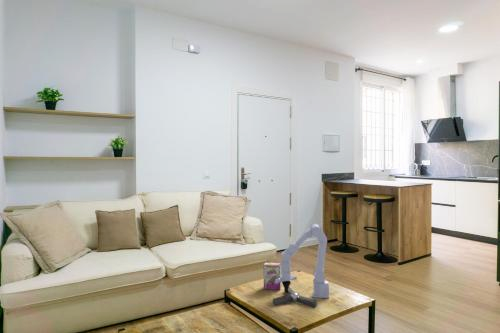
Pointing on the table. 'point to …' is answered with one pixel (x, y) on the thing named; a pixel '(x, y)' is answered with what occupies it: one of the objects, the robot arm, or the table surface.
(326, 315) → the table surface
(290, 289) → the folding foot
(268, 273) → the candy bar box
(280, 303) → the stool base
